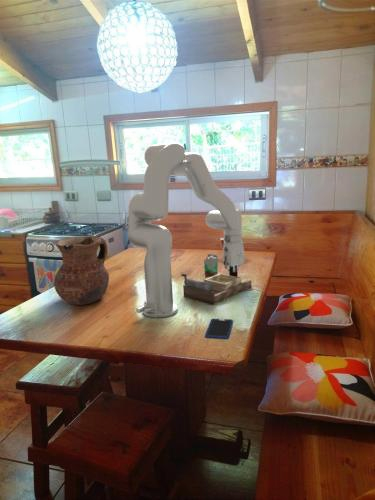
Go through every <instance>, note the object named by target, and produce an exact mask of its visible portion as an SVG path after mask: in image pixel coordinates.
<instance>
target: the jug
mask: <svg viewBox="0 0 375 500" xmlns="http://www.w3.org/2000/svg"><path fill="white" fill-rule="evenodd" d="M54 245H55V247H56V248H57V249H58V250H59V252H60V254H61V257H62V265H61V266H60V268H59V269H58V270H57V272H56V274H55V276H54V280H53V281H54V283H53V284H54V290H55V292H56V294H57V295H58V296H59V298H61V300H62V301H64V302H65V303H67V304H70V305H74V306H85V305H89V304H93V303H95V302H97V301H99V300H100V299H102V298H103V297H104V295H106V292H107V289H108V286H109V281H110V280H109V279H110V275H109V271H108V270H107V268H106V267H105V260H106V257H107V253H108V246H107V243H106V240H105V239H104V238H102V237H100V236H96V235H91V236H80V237H64V238H59V239H57V240H56V241H55V244H54ZM98 250H99V252H98ZM97 254H98V255H97Z"/></svg>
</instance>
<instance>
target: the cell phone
mask: <svg viewBox="0 0 375 500" xmlns="http://www.w3.org/2000/svg"><path fill="white" fill-rule="evenodd" d="M233 323H234V319H229V318H228V319H227V318H211V319H210V322H209V324H208V327H207V329H206V332H205V333H204V338H205V339H215V340H216V339H218V340H228V339H229V338H230V335H231V331H232V327H233Z"/></svg>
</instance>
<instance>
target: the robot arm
mask: <svg viewBox="0 0 375 500" xmlns="http://www.w3.org/2000/svg"><path fill="white" fill-rule="evenodd" d="M143 158H144V161H145V163H146V165H147V167H146V170H145V172H144V177H143V192H139V193H136V194H135V195H133V196H132V197H131V199H130V201H129V204H128V214H127V215H128V216H127V217H128V240H129V242H130V244H131V245H132V246H133V247H135V248H136V249H138V250H143V251H146V254H145V256H144V260H143V271H144V272H143V273H144V284H145V297H146V300H145V301H143V302H144V303H143V304H142V306H139V307H136V309H135V311H136V313H137V314H141V313H142V314H144V315H145V316H146V317H150V318H157V319H158V318H159V319H160V318H167V317H169V316H170V317H171V316H173V315H175V314H176V313H177V312H178V309H179V307H178V305H177V304H175V303H174V298H173V280H172V261H171V258H172V257H171V256H172V247H173V234H172V233H171V231H170V230H169V228H167V227H166V226H164V225H161V224H153V223H152V221H156V222H157V221H162V220H164V219H166V218H167V216H168V214H169V190H170V189H169V187H170V185H169V184H170V179H171V176H176V177H186V179H187V181H188V183H189V185H190V187H191V189H192V191H193V194H194V195H195V196H196V197H197V198H198V199H200V200H201V201H202V202H205V203H207V204H209V205H211V206H212V207H214V208H215V209H216V210H211V211H209V212H208V213H207V214H206V215H205V224H206V225H207V227H208V228H211V229H215V230H221V231H222V230H223V238H224V245H222V263H223V266H224V270H227V271H228V272H229V273H228V275H231V276H236V277H239V276H238V275H239V274H238V271H239V267H240V266H241V265H242V264H243V263H244V262H245V247H244V241H243V237H242V236H243V231H242V230H243V228H242V221H243V220H242V211H241V210H240V209H238V208H236V206H235V204H234V201H232V199H231V198H230V197H229V196H228V195H227V194H226V193H225V192H223V190H222V189H220V188H219V187H217V185H216V184H215V181H214V179H213V177H212V175H211V173H210V171H209V168H208V167H207V164H206V162H205V160H204V157H203V156H202V155H201V154H200V153H198V152H191V151H190V152H186V149H185V147H184V145H183V144H181V143H180V142H175V141H172V142H169V141H168V142H163V143H157V144H152V145H150V146H148V147H147V148H146V149H145V152H144V157H143Z"/></svg>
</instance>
